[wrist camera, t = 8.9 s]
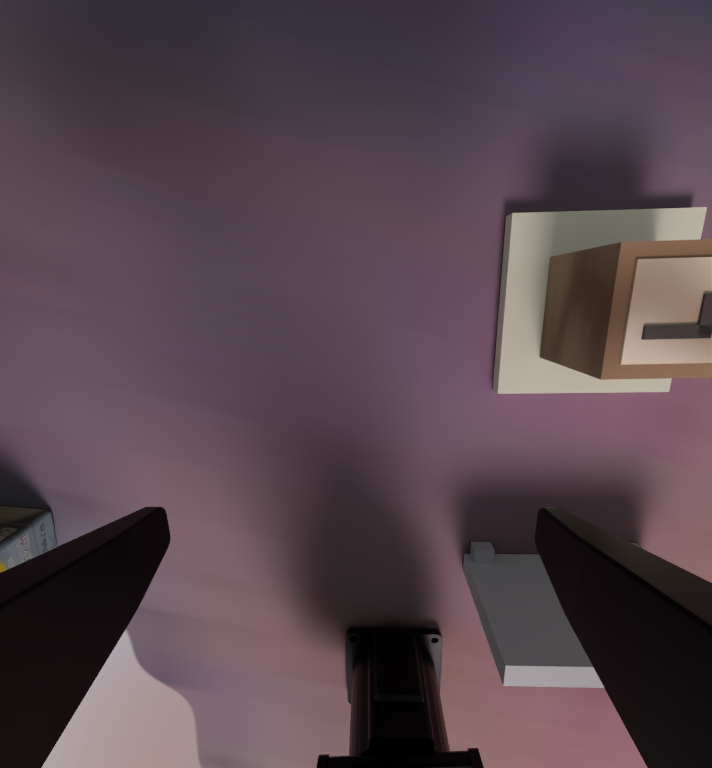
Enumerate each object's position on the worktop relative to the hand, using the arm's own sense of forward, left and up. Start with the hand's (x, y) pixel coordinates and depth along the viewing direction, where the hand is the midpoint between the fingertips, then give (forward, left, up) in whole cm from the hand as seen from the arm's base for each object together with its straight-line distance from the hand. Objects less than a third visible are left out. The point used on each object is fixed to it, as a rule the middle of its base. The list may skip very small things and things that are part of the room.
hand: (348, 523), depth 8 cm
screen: (-12, -12, -12) cm, 20 cm away
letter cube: (+4, -12, -11) cm, 17 cm away
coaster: (+4, -12, -12) cm, 18 cm away
